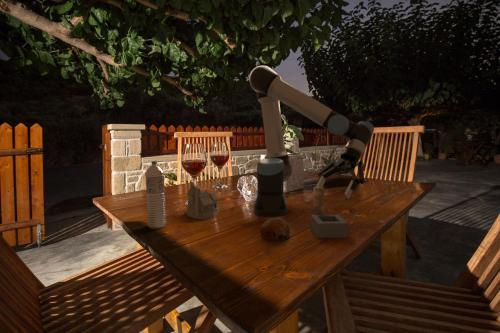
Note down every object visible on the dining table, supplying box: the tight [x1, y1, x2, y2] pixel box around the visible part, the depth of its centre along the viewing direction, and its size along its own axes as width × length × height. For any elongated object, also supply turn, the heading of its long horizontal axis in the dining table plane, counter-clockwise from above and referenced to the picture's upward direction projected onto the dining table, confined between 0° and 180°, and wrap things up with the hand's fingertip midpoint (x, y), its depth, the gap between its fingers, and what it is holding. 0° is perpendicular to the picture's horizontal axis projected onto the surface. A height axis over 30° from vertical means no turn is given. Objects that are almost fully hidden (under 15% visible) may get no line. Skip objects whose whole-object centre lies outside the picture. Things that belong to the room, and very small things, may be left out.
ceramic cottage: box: [185, 180, 220, 220], centre depth 124 cm, size 16×16×15 cm
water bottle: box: [144, 160, 167, 230], centre depth 107 cm, size 7×7×25 cm
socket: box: [310, 213, 349, 239], centre depth 99 cm, size 10×10×5 cm
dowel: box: [312, 186, 325, 215], centre depth 108 cm, size 4×4×14 cm
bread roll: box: [260, 217, 291, 242], centre depth 97 cm, size 10×10×8 cm
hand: (331, 193), depth 110 cm, fingers open, 13 cm apart
